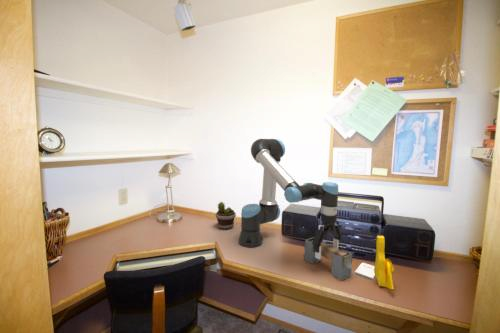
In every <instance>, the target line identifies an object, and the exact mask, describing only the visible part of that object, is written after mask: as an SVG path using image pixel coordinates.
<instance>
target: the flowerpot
mask: <svg viewBox="0 0 500 333" xmlns="http://www.w3.org/2000/svg"><path fill="white" fill-rule="evenodd" d="M225 204H226V203H225V202H223V201H222V200H221V202H218V204H217V211H216V213H215V218H216V220H217V226H218V228H219V229H221V230H230V229H232V228H233V227H234V225H235V218H236V216H237V213H236V212H235V211H234V209H232V208H231V207H230V206H228V207H226V205H225Z"/></svg>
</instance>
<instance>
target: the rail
mask: <svg viewBox="0 0 500 333" xmlns="http://www.w3.org/2000/svg"><path fill="white" fill-rule="evenodd" d="M311 242H313V240H312V241H311ZM318 244H319V243H318ZM320 246H321V257H323V258H325V259H327V260H329V261H332V262H333V253H336V254H338V255H340V256H342V257H344V256H346V255H347V253H345V252H343V251H341V250H342V249H341V250H340V249H339V248H338V249H336V248H334V247H333V245H332V246H331V245H330V244H327V243H324V241H322V243H321V245H320ZM314 252H315V245H314Z"/></svg>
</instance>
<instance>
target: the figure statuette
mask: <svg viewBox="0 0 500 333" xmlns="http://www.w3.org/2000/svg"><path fill="white" fill-rule="evenodd" d="M375 242H376V248H375V249H376V252H375V262H374V266H375V267H374V274H375V280H376V282H377V284H378V286H379V287H384V288H387V289H389V290H395V287H394V282H393V281H394V280H393V273H394V271H395V267H394V264H393V263H392V261H391V260H390V258H389V257H388V258H386V255H385V254H386V253H385V248H386V244H385V243H386V240H385V236H384V235H377V236H376V241H375Z"/></svg>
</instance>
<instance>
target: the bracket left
mask: <svg viewBox="0 0 500 333" xmlns="http://www.w3.org/2000/svg"><path fill="white" fill-rule="evenodd" d="M314 237H315V236H313V237H310V238H307V239H304V252H303V253H304V258H303V260H304V261H306V262H307V263H309V264H312V265H313V264H316V263H318V262H320V261H322V258H321V259H320V260H319V259H318V258H316V257H315V252H314V245H313V244H312V242H311V241H312V240H313V239H314Z"/></svg>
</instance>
